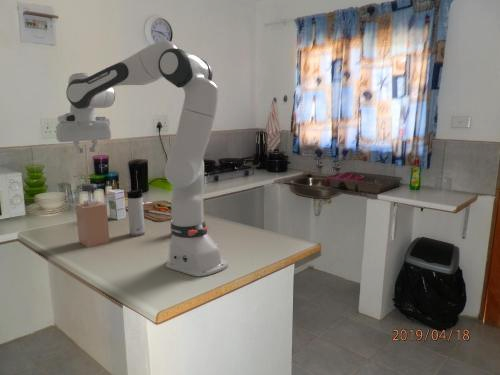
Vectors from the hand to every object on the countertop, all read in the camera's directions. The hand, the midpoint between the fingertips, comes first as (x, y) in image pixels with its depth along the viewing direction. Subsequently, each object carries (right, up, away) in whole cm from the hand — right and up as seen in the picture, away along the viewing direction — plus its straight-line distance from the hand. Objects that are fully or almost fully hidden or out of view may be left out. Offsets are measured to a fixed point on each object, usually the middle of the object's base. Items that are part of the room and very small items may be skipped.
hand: (86, 152), depth 152 cm
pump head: (-1, -24, +6) cm, 25 cm away
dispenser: (0, -36, +7) cm, 37 cm away
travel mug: (+15, -35, +17) cm, 41 cm away
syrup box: (-3, -30, +44) cm, 53 cm away
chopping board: (+16, -27, +58) cm, 66 cm away
